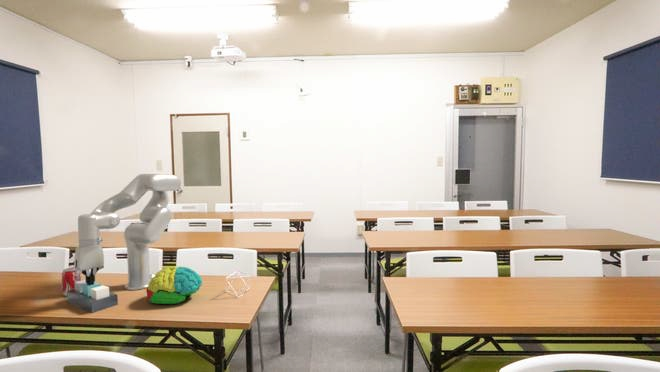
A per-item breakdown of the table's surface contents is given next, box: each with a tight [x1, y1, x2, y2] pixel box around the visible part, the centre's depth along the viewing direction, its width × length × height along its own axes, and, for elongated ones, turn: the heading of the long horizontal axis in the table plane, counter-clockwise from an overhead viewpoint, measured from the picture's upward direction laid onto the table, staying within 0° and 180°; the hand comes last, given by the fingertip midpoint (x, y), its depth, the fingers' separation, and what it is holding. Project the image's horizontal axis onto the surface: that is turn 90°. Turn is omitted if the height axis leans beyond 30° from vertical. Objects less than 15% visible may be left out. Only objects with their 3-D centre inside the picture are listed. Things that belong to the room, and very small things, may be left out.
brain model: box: [145, 265, 203, 305], centre depth 155 cm, size 24×19×15 cm
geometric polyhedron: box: [225, 270, 251, 299], centre depth 162 cm, size 12×11×9 cm
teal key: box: [82, 281, 102, 297], centre depth 151 cm, size 5×5×5 cm
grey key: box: [75, 278, 87, 293], centre depth 155 cm, size 5×5×5 cm
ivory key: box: [91, 285, 110, 300], centre depth 147 cm, size 5×5×5 cm
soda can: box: [61, 267, 81, 297], centre depth 162 cm, size 7×7×12 cm
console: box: [66, 289, 119, 314], centre depth 151 cm, size 10×23×5 cm, turn 58°
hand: (90, 284), depth 151 cm, fingers closed
